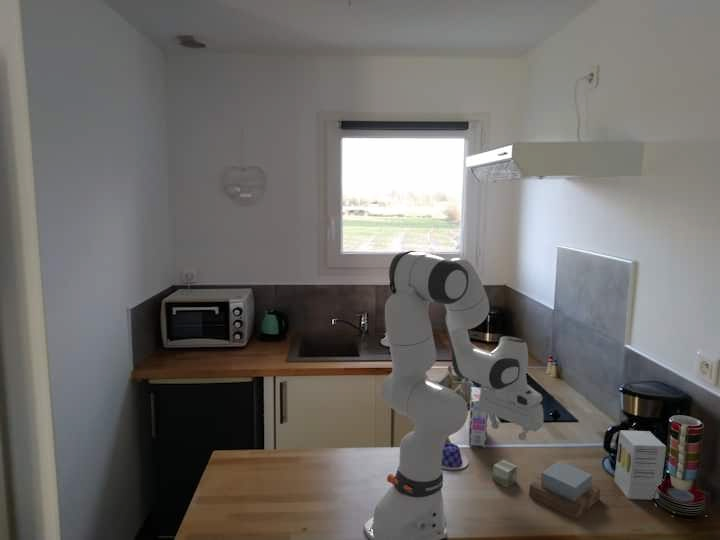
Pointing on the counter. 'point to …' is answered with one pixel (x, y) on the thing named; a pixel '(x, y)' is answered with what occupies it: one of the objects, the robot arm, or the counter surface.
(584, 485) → the grey slab
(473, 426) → the candy box
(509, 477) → the sage block
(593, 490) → the walnut slab
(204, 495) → the counter surface
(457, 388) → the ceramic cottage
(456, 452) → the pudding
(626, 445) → the supplement box
